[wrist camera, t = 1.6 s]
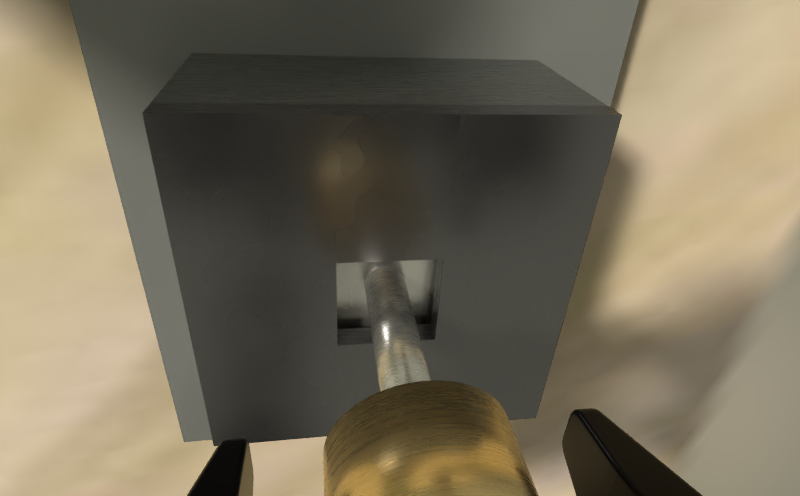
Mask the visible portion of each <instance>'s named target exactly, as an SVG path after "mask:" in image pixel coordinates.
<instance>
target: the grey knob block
mask: <svg viewBox="0 0 800 496" xmlns="http://www.w3.org/2000/svg"><path fill="white" fill-rule="evenodd" d="M142 115H143V119H144V124H145V128H146V133H147V138H148V142H149V147H150V152H151V156H152V161H153V166H154V170H155V175H156V180H157V184H158V189H159V194H160V198H161V203H162V207H163V212H164V217H165V221H166V226H167V231H168V235H169V240H170V245H171V249H172V254H173V259H174V263H175V268H176V272H177V277H178V282H179V286H180V291H181V296H182V300H183V305H184V310H185V314H186V319H187V324H188V328H189V333H190V338H191V342H192V347H193V351H194V356H195V361H196V365H197V370H198V375H199V379H200V384H201V389H202V393H203V398H204V403H205V407H206V412H207V416H208V421H209V426H210V430H211V435H212V440H213V444H214V446H218V445H219V444H220V443H221V442H222V441H224V440H229V439H241V438H244V439H247V440H248V442H249V443H254V442H265V441H277V440H288V439H300V438H311V437H322V436H328V434H329V432H330V430H331V429H332V428H333V426H334V425H335V423H336V422H337V421H338V420H339V419H340V418H341V416H342V415H343V414H345V413H346V412H347V411H348V410H349V409H350V408H352V407H353V406H355V405H356V404H357V403H359V402H360V401H362V400H364V399H366V398H368V397H369V396H371V395H373V394H375V393H378V392H380V387H379V381H378V374H377V367H376V360H375V354H374V347H373V340H372V334H371V327H365V328H348V329H337V279H336V263H356V262H382V261H408V260H434V259H437V266H436V275H435V284H434V293H433V303H432V312H431V321H430V324H418V325H417V328H418V332H419V336H420V340H421V344H422V347H423V351H424V355H425V359H426V363H427V367H428V370H429V374H430V378H431V381H432V380H441V381H453V382H459V383H464V384H467V385H471V386H474V387H476V388H478V389H481V390H483V391H485V392H486V393H488V394H489V395H491V396H492V397H493V398H495V399H496V400H497V401H498V402H499V403H500V405H501V406H502V407H503V409H504V410H505V412H506V415H507V417H508V419H509V420H516V419H527V418H536V415H537V412H538V408H539V405H540V401H541V398H542V394H543V391H544V387H545V383H546V380H547V376H548V373H549V369H550V366H551V362H552V359H553V355H554V352H555V348H556V345H557V341H558V338H559V334H560V331H561V327H562V324H563V320H564V317H565V313H566V310H567V306H568V303H569V299H570V296H571V292H572V289H573V285H574V282H575V278H576V275H577V271H578V268H579V264H580V261H581V257H582V254H583V250H584V247H585V243H586V240H587V236H588V233H589V229H590V226H591V222H592V218H593V215H594V211H595V208H596V204H597V201H598V197H599V194H600V190H601V187H602V183H603V180H604V176H605V173H606V169H607V166H608V162H609V159H610V155H611V152H612V148H613V145H614V141H615V138H616V134H617V131H618V127H619V124H620V120H621V117H622V115H621V114H620V113H618V112H617V111H615V110H613V109H612V108H610V107H609V106H607V105H606V104H604V103H603V102H601V101H600V100H598V99H597V98H595V97H593V96H592V95H590V94H589V93H587V92H586V91H584V90H583V89H581V88H580V87H578V86H577V85H575V84H573V83H572V82H570V81H569V80H567V79H566V78H564V77H563V76H561V75H560V74H558V73H557V72H555V71H553V70H552V69H550V68H549V67H547V66H546V65H544V64H543V63H541V62H540V61H538V60H499V59H451V58H403V57H355V56H307V55H259V54H211V53H191V54H190V56H189V57H188V58H187V59H186V60H185V62H184V63H183V64H182V65H181V66H180V68H179V69H178V70H177V71H176V73H175V74H174V75H173V76H172V77H171V79H170V80H169V81H168V82H167V83H166V85H165V86H164V87H163V88H162V90H161V91H160V92H159V93H158V94H157V96H156V97H155V98H154V99H153V100H152V102H151V103H150V104H149V105H148V107H147V108H146V109H145V110H144V111H143V113H142Z"/></svg>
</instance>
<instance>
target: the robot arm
mask: <svg viewBox="0 0 800 496" xmlns="http://www.w3.org/2000/svg"><path fill="white" fill-rule="evenodd" d="M562 447H563V452H564V456H565V459H566V463H567V466H568V469H569V473H570V476H571V479H572V483H573V486H574V489H575V493H576V496H702V495H701V494H700V493H699V492H697V491H696V490H695V489H694V488H692V487H691V486H690V485H689V484H688V483H686V482H685V481H684V480H683V479H682V478H680V477H679V476H678V475H677V474H676V473H674V472H673V471H672V470H671V469H669V468H668V467H667V466H666V465H665V464H663V463H662V462H661V461H660V460H658V459H657V458H656V457H655V456H654V455H652V454H651V453H650V452H649V451H647V450H646V449H645V448H644V447H643V446H641V445H640V444H639V443H638V442H636V441H635V440H634V439H633V438H632V437H630V436H629V435H628V434H627V433H626V432H624V431H623V430H622V429H621V428H619V427H618V426H617V425H616V424H615V423H613V422H612V421H611V420H610V419H608V418H607V417H606V416H605V415H604V414H602V413H601V412H600V411H598V410H596V409H592V408H589V409H578V410H574V411H573V412H572V413H571V415H570V418H569V421H568V424H567V427H566V430H565V433H564V436H563V440H562ZM187 496H253V466H252V460H251V454H250V447H249V442H248V440H247V439H244V438H241V439H229V440H224V441H222V442H221V443H220V444H219V445H218V447H217V448H216V450H215V452H214V453H213V455H212V456H211V458H210V460H209V461H208V463H207V464H206V466H205V468H204V469H203V471H202V472H201V474H200V476H199V477H198V479H197V480H196V482H195V483H194V485H193V487H192V488H191V490H190V491H189V493H188V495H187Z"/></svg>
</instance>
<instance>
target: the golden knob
mask: <svg viewBox="0 0 800 496" xmlns="http://www.w3.org/2000/svg"><path fill="white" fill-rule="evenodd" d="M436 266H437V259H434V260H408V261H382V262H356V263H336V279H337V329H348V328H365V327H371V334H372V340H373V347H374V354H375V360H376V367H377V374H378V381H379V387H380V392H378V393H375V394H373V395H371V396H369V397H368V398H366V399H364V400H362V401H360V402H359V403H357V404H356V405H355V406H353V407H352V408H350V409H349V410H348V411H347V412H346V413H345V414H343V415H342V416H341V418H340V419H339V420H338V421H337V422H336V423H335V425H334V426H333V428H332V429H331V430H330V432H329V434H328V436H327V439H326V442H325V445H324V453H323V463H324V496H539V495H538V493H537V490H536V488H535V485H534V483H533V480H532V478H531V475H530V473H529V470H528V467H527V465H526V462H525V460H524V457H523V455H522V452H521V450H520V447H519V445H518V442H517V440H516V437H515V434H514V432H513V429H512V427H511V424H510V422H509V419H508V417H507V415H506V412H505V410H504V409H503V407H502V406H501V405H500V403H499V402H498V401H497V400H496V399H495V398H493V397H492V396H491V395H489V394H488V393H486V392H485V391H483V390H481V389H478V388H476V387H474V386H471V385H467V384H464V383H459V382H453V381H441V380H432V381H431V378H430V374H429V370H428V367H427V363H426V359H425V355H424V351H423V347H422V344H421V340H420V336H419V332H418V328H417V325H418V324H430V321H431V312H432V303H433V293H434V284H435V275H436Z"/></svg>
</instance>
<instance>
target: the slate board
mask: <svg viewBox="0 0 800 496" xmlns="http://www.w3.org/2000/svg"><path fill="white" fill-rule="evenodd" d="M69 3H70V7H71V10H72V14H73V18H74V22H75V26H76V30H77V33H78V37H79V41H80V45H81V49H82V53H83V56H84V60H85V64H86V68H87V72H88V76H89V79H90V83H91V87H92V91H93V95H94V99H95V102H96V106H97V110H98V114H99V118H100V122H101V125H102V129H103V133H104V137H105V141H106V145H107V148H108V152H109V156H110V160H111V164H112V168H113V171H114V175H115V179H116V183H117V187H118V191H119V194H120V198H121V202H122V206H123V210H124V214H125V217H126V221H127V225H128V229H129V233H130V237H131V240H132V244H133V248H134V252H135V256H136V260H137V263H138V267H139V271H140V275H141V279H142V283H143V286H144V290H145V294H146V298H147V302H148V306H149V309H150V313H151V317H152V321H153V325H154V329H155V332H156V336H157V340H158V344H159V348H160V351H161V355H162V359H163V363H164V367H165V371H166V374H167V378H168V382H169V386H170V390H171V394H172V397H173V401H174V405H175V409H176V413H177V417H178V420H179V424H180V428H181V432H182V436H183V440H184V442H190V441H201V440H212V435H211V430H210V426H209V421H208V416H207V412H206V407H205V403H204V398H203V393H202V389H201V384H200V379H199V375H198V370H197V365H196V361H195V356H194V351H193V347H192V342H191V338H190V333H189V328H188V324H187V319H186V314H185V310H184V305H183V300H182V296H181V291H180V286H179V282H178V277H177V272H176V268H175V263H174V259H173V254H172V249H171V245H170V240H169V235H168V231H167V226H166V221H165V217H164V212H163V207H162V203H161V198H160V194H159V189H158V184H157V180H156V175H155V170H154V166H153V161H152V156H151V152H150V147H149V142H148V138H147V133H146V128H145V124H144V119H143V115H142V113H143V111H144V110H145V109H146V108H147V107H148V105H149V104H150V103H151V102H152V100H153V99H154V98H155V97H156V96H157V94H158V93H159V92H160V91H161V90H162V88H163V87H164V86H165V85H166V83H167V82H168V81H169V80H170V79H171V77H172V76H173V75H174V74H175V73H176V71H177V70H178V69H179V68H180V66H181V65H182V64H183V63H184V62H185V60H186V59H187V58H188V57H189V56H190V54H191V53H211V54H259V55H307V56H355V57H403V58H451V59H499V60H538V61H540V62H541V63H543V64H544V65H546V66H547V67H549V68H550V69H552V70H553V71H555V72H557V73H558V74H560V75H561V76H563V77H564V78H566V79H567V80H569V81H570V82H572V83H573V84H575V85H577V86H578V87H580V88H581V89H583V90H584V91H586V92H587V93H589V94H590V95H592V96H593V97H595V98H597V99H598V100H600V101H601V102H603V103H604V104H606V105H607V106H609V107H611V103H612V99H613V95H614V92H615V88H616V84H617V81H618V77H619V73H620V70H621V66H622V62H623V58H624V55H625V51H626V47H627V44H628V40H629V36H630V33H631V29H632V25H633V21H634V18H635V14H636V10H637V7H638V3H639V0H69Z"/></svg>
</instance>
